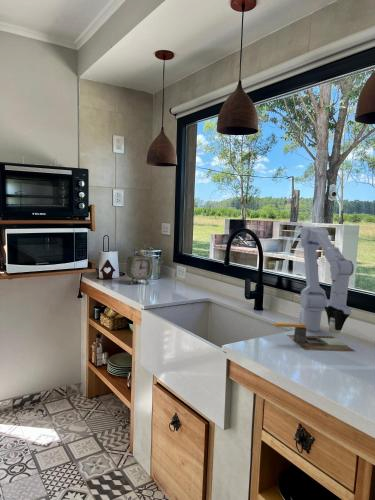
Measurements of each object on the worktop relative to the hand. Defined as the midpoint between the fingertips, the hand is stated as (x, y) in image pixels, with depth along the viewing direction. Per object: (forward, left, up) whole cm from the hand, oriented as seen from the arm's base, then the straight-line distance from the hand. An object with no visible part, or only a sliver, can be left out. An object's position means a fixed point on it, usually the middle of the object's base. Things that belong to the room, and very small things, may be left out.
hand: (334, 328), depth 137 cm
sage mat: (0, 0, -6) cm, 6 cm away
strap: (+1, -18, 0) cm, 18 cm away
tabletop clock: (-101, -73, -7) cm, 124 cm away
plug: (0, 0, -1) cm, 1 cm away
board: (+1, -6, -6) cm, 9 cm away
